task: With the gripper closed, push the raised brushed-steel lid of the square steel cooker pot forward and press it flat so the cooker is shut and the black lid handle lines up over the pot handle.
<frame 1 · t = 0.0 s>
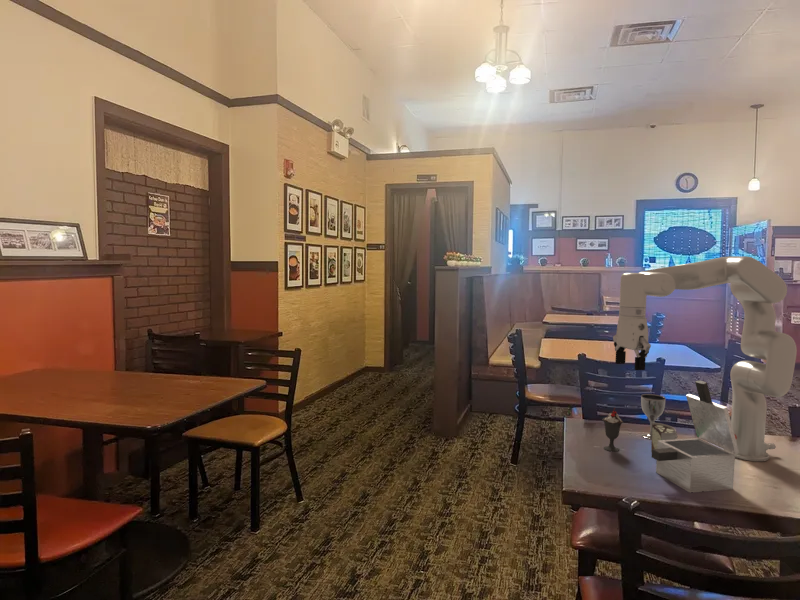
hand: (629, 366, 163), 31 cm above the table, tool pointing down, fingers open, 9 cm apart
food container: (665, 458, 170), on the table
cooker pot: (693, 480, 153), on the table
wine glass: (651, 437, 191), on the table
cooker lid: (711, 412, 152), point 20 cm above the table, hinge at 70.0°
sundae: (611, 449, 178), on the table
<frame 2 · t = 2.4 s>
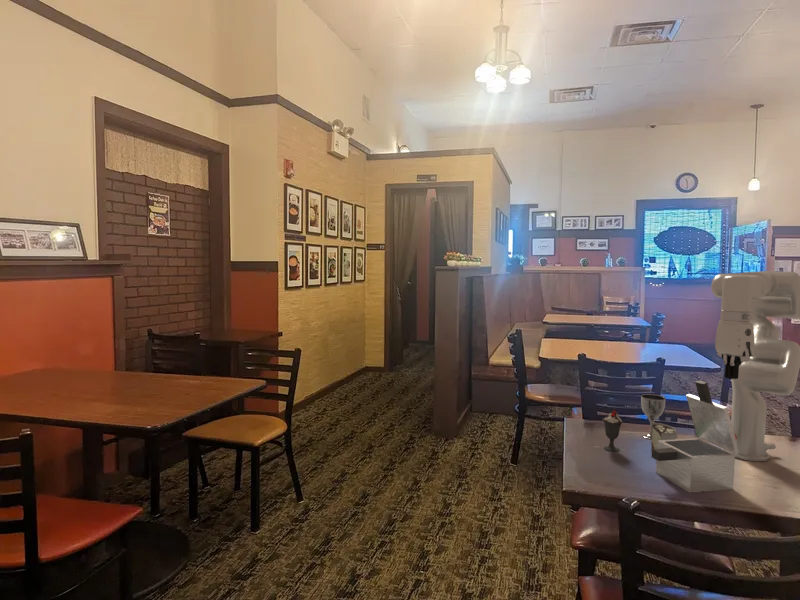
hand: (731, 378, 155), 30 cm above the table, tool pointing down, fingers closed
nothing on the table moved.
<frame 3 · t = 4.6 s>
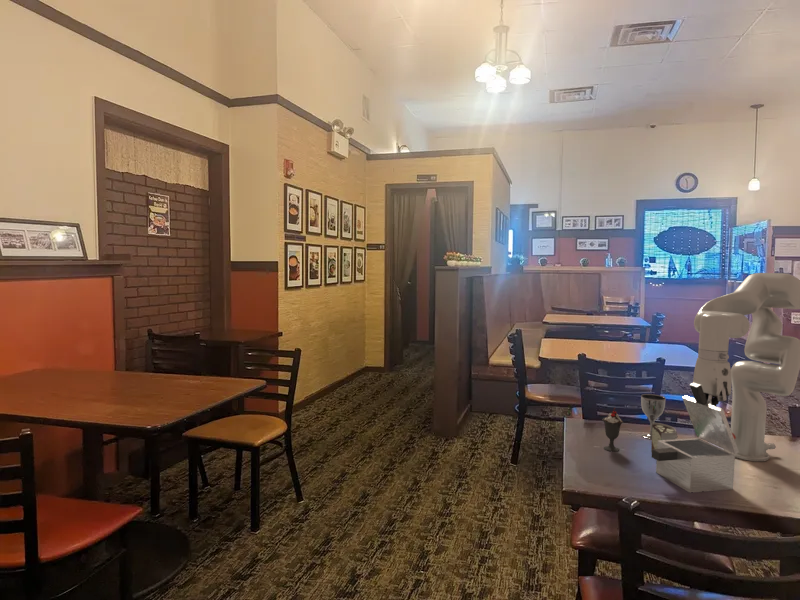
hand: (708, 416, 154), 18 cm above the table, tool pointing down, fingers closed
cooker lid: (708, 413, 152), point 20 cm above the table, hinge at 64.2°, touching gripper
everything else where it was.
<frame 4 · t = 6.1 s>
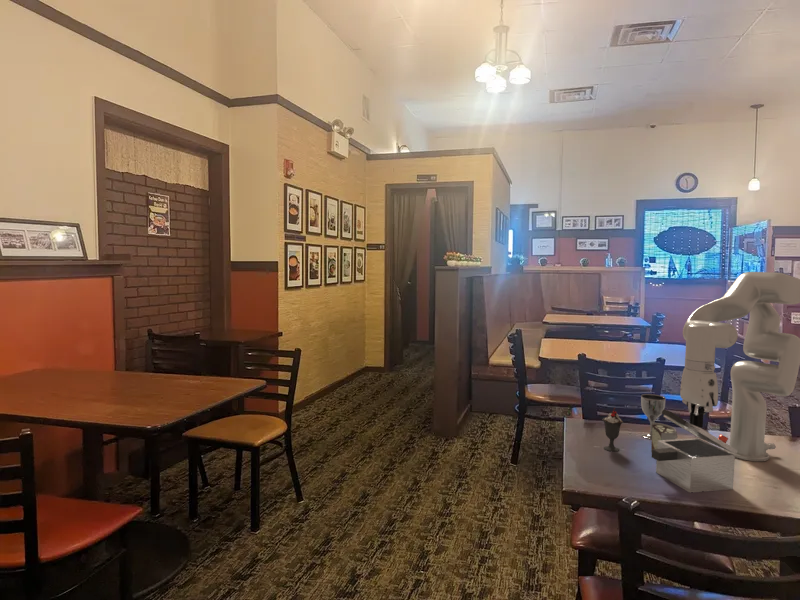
hand: (695, 426, 154), 15 cm above the table, tool pointing down, fingers closed
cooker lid: (693, 425, 151), point 17 cm above the table, hinge at 29.9°, touching gripper
everything else where it was.
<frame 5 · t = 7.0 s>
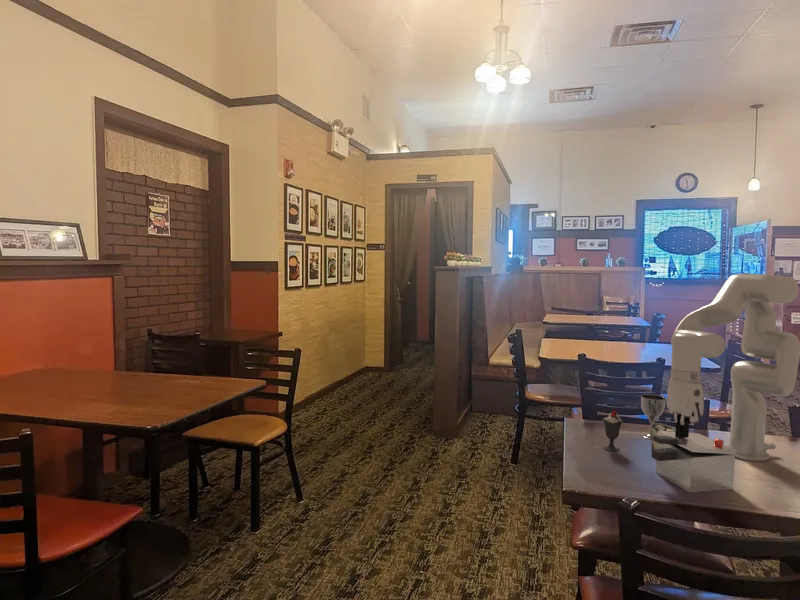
hand: (681, 436, 153), 13 cm above the table, tool pointing down, fingers closed
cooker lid: (686, 438, 151), point 13 cm above the table, hinge at 6.4°, touching gripper
everything else where it was.
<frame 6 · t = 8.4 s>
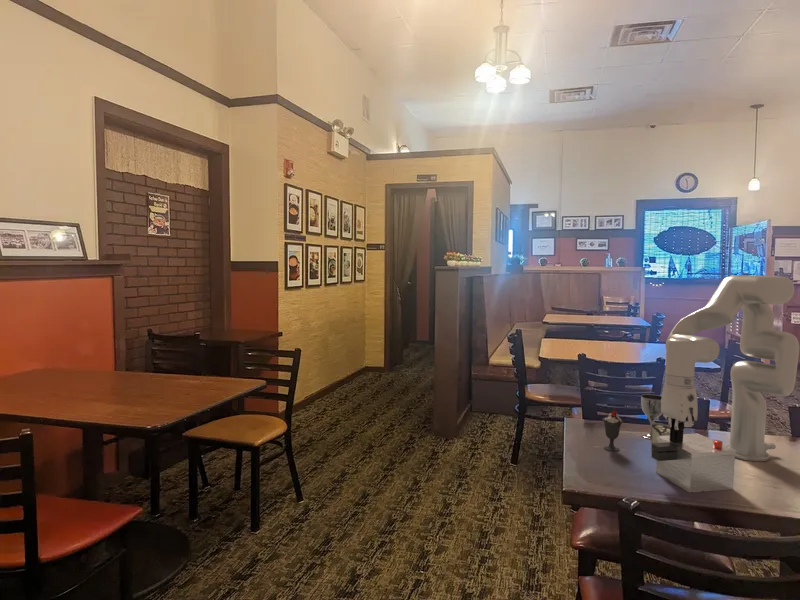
hand: (676, 441, 153), 11 cm above the table, tool pointing down, fingers closed
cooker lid: (685, 442, 151), point 12 cm above the table, hinge at -0.5°, touching gripper
everything else where it was.
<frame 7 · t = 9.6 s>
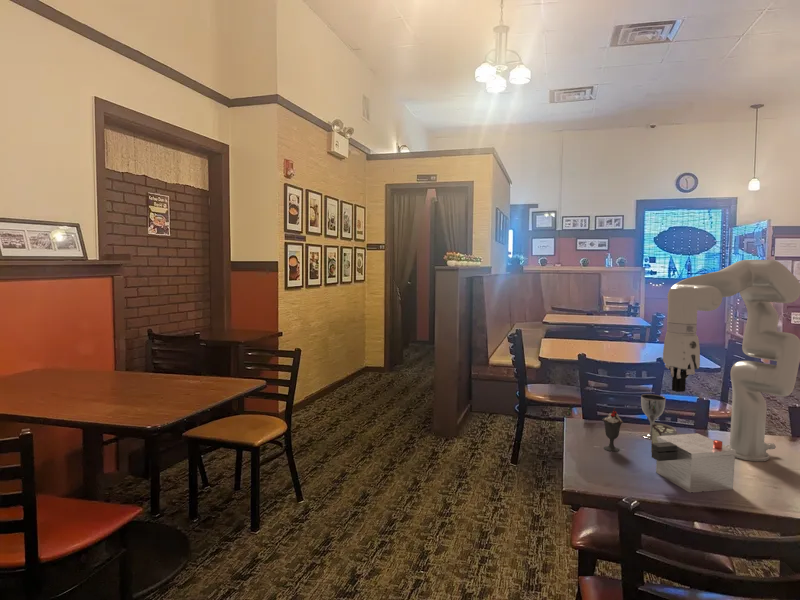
hand: (678, 390, 152), 26 cm above the table, tool pointing down, fingers closed
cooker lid: (685, 442, 151), point 12 cm above the table, hinge at -0.5°
everything else where it was.
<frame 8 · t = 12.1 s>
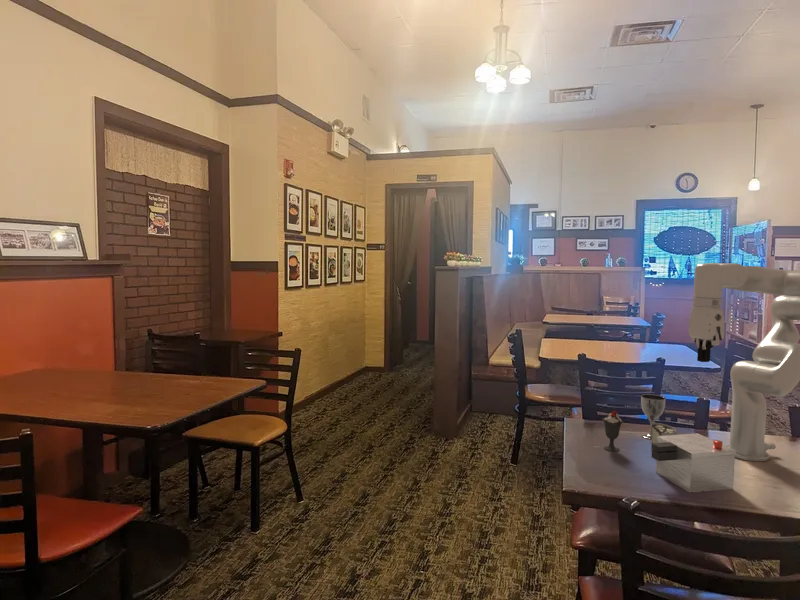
hand: (703, 361, 163), 33 cm above the table, tool pointing down, fingers closed
nothing on the table moved.
at the end: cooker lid at +0° (first picture: +70°) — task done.
